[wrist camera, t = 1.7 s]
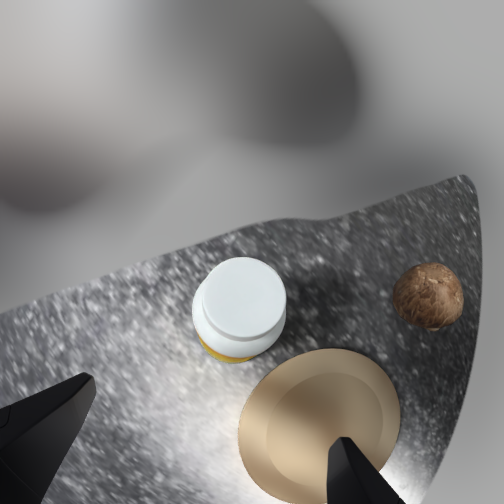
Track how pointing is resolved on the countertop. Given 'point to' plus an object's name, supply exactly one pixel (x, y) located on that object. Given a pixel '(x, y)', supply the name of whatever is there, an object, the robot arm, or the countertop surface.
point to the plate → (315, 421)
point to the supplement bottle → (239, 309)
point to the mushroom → (428, 296)
